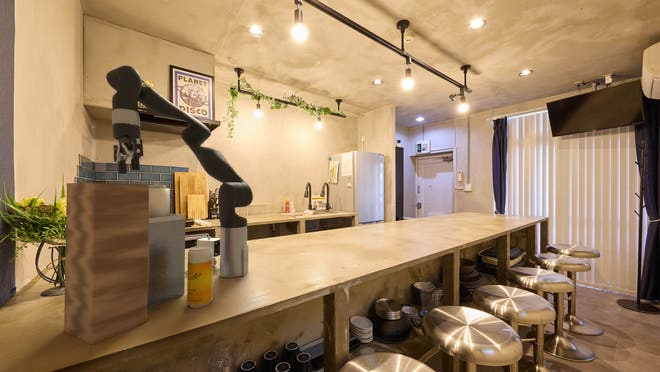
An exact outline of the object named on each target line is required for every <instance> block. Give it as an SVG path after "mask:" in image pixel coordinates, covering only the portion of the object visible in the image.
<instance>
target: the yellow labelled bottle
mask: <svg viewBox="0 0 660 372" xmlns="http://www.w3.org/2000/svg"><path fill="white" fill-rule="evenodd" d="M213 274H214V266H213V250H212V248H211V246H195V247H193V246H192V247H190V248H189V249H188V252H187V279H186V280H187V282H186V284H187V285H186V287H187V289H186V290H187V293H186V299H187V302H186V303H187V305H188V306H189V307H190V308H195V309H196V308H203V307H205V306H208V305H209V304H210V303H211V302H212V300H213V295H214V294H213V293H214V292H213V289H214V286H213V284H214V281H213V279H214V277H213Z"/></svg>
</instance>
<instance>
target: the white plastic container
mask: <svg viewBox="0 0 660 372" xmlns="http://www.w3.org/2000/svg"><path fill="white" fill-rule="evenodd" d="M170 197H171V189H170V187H169V188H168V187H167V185H166V184H149V218H154V217H165V216H169V215H170V214H171V213H170V212H171V211H170V206H171V205H170V204H171V202H170V199H171V198H170Z"/></svg>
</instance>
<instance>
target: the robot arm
mask: <svg viewBox="0 0 660 372" xmlns="http://www.w3.org/2000/svg"><path fill="white" fill-rule="evenodd" d="M105 80H106V81H107V83H108V85H109V86H110V87H111V88H112V89H113V90H114V91H116V92H115V93H114V94H112V95H113V96H112V98H111V108H112V114H111V124H112V125H111V129H112V138H113V139H114V140H117V141H118V144H113V147H112V148H113V162H115V163H117V170H118V171H117V173H118V174H120V175H126V174H127V173H128V171H127V161H128V159H129V158H130V170H131V171H133V172H134V171H136V172H137V171H140V170H141V169H140V168H141V167H140V164H141V163H140V160H141V159H142V157H144V148H143V147H144V146H143V145H144V144H143V139H142V134H141V132H142V131H141V118H140V114H139V103H140V104H141V105H143V106H144V107H145V108H147V109H148V110H150V111H151V112H153V114H156V115H158V116H161V117H165V118H170V119H176V120H180V121H183V122H186V123H188V125H187V126H186V127H185V128H184V129H182V131H181V132H180V137H181V139H182V140H183V141H184V143H185V144H186V146H187V147H188V148H189V149H190V151H192V152H193V154H194V156H195V157H196V159H197V160H198V162H199V163H200V166H201V167H202V169H203V170H204V171H205V172H206V174H207V175H208V176H210V177H211V178H213V179H215V180H216V181H218V182H219V183H221V185H220V186H219V187H218V192H217V204H218V220H219V225H220V227H219V230H220V231H219V239H220V255H219V276H220V277H221V278H228V279H229V278H237V277H243V276H244V277H245V276H246V274H247V273H248V271H249V245H248V219H247V218H246V217H245V216H244V217H243V216H240V215H238V214H237V213H236V208H245V207H249V206H250V205H251V204H252V203H253V199H254V194H253V190H252V188H251V186H250V185H249V184H248V183H247V182H246V181H245V180H244V179H243V178H242V177H241V176H240V175H239V174H238V173H237V171H235V169H234V168H233V167H232V165H231V164H230V163H229V162H228V159H227V158H226V157H225V156H224V155H223V153H222V152H221V150H219V149H217V148H214V147H209V146H201V145H203V144H204V143H205V142H206V141H207V140H208V139H209V138H210V137H211V136H212V132H211V130H210V129H209V128H208V127H207V125H205V124H204V123H203V122H202V121H200V120H199V119H197V118H195V117H194V116H193V115H191V114H189V113H188V112H186V111H185V110H183V109H182V108H180V107H178V106H177V105H175V104H173V103H172V102H170V101H169V100H168V99H167V98H165V97H164V96H163V95H161V94H160V93H159V92H158V91H157V90H156V89H154V88H152V87H150V86H145V85H144V86H142V84H143V82H142V77H141V75H140V73H139V72H138V70H137V69H136V68H135V67H134V66H131V65H121V66H119V67H116V68H114V69H111V70H110V71H108V72H107V73H106V76H105Z"/></svg>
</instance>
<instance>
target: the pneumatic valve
mask: <svg viewBox="0 0 660 372" xmlns="http://www.w3.org/2000/svg"><path fill="white" fill-rule="evenodd" d="M195 246H211V248H212V250H213V267H215V266H216V265H217V262H218V261H217V257H220V237H219V238H218V237H217V238H215V237H211V236H210V235H209V236H208V237H202V238H197V239H195V242H193V243H192V247H195Z"/></svg>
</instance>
